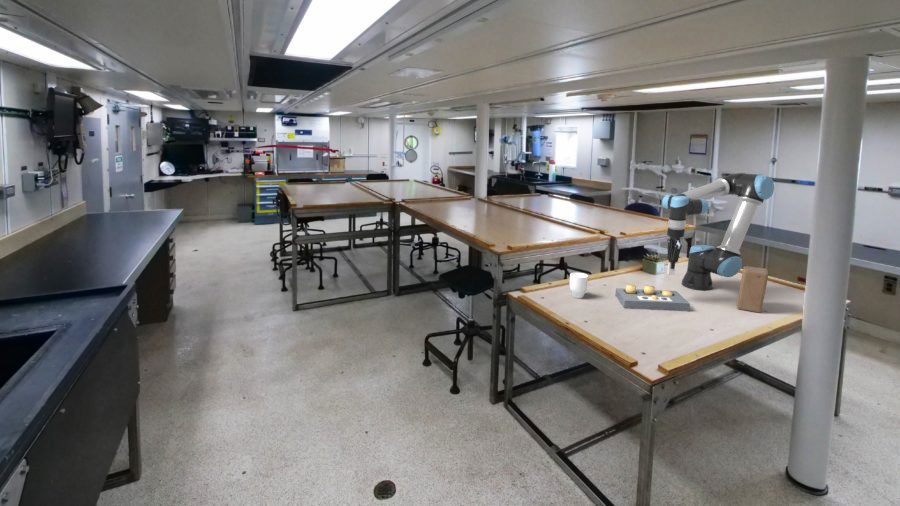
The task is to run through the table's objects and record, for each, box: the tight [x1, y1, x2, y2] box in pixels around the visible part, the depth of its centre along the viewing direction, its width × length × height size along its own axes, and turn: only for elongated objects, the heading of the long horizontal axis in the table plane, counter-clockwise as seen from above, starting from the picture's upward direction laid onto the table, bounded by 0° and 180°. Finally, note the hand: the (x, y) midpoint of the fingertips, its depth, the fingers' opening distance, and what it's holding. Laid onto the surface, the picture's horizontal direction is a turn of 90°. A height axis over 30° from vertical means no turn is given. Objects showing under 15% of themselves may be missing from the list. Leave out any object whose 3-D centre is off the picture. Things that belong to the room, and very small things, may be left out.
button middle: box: [643, 284, 656, 295], centre depth 235 cm, size 5×5×4 cm
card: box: [637, 295, 672, 302], centre depth 227 cm, size 15×5×2 cm, turn 84°
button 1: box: [625, 284, 637, 294], centre depth 236 cm, size 5×5×4 cm
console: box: [614, 287, 691, 312], centre depth 232 cm, size 30×18×4 cm, turn 84°
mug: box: [569, 272, 589, 299], centre depth 240 cm, size 12×9×12 cm
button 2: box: [662, 289, 673, 296], centre depth 235 cm, size 5×5×4 cm
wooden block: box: [736, 265, 769, 314], centre depth 224 cm, size 10×10×20 cm
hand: (670, 274), depth 232 cm, fingers closed
